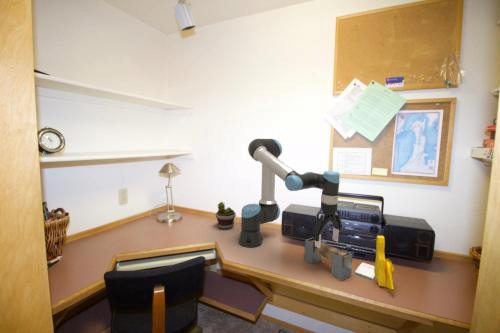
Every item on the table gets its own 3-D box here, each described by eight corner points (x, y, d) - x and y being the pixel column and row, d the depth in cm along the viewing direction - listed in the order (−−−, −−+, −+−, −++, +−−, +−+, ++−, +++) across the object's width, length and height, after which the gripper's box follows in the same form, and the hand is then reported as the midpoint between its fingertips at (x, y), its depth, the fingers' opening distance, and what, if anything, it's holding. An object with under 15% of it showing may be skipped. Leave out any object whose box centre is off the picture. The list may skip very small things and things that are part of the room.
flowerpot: (238, 224, 178) (238, 198, 176) (232, 232, 163) (232, 204, 161) (220, 222, 181) (220, 197, 179) (212, 230, 166) (212, 202, 164)
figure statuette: (398, 298, 96) (402, 246, 94) (376, 294, 99) (380, 243, 96) (387, 275, 113) (391, 231, 110) (369, 271, 115) (372, 228, 113)
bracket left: (304, 259, 127) (305, 239, 125) (313, 256, 131) (313, 237, 129) (312, 264, 122) (313, 243, 121) (321, 260, 126) (322, 240, 125)
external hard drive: (354, 274, 113) (361, 264, 123) (372, 281, 108) (379, 270, 118) (354, 271, 113) (362, 261, 123) (373, 278, 108) (379, 267, 117)
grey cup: (331, 275, 112) (332, 253, 111) (340, 270, 116) (342, 249, 115) (342, 280, 108) (343, 258, 106) (351, 276, 112) (352, 254, 110)
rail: (310, 249, 125) (310, 240, 124) (315, 248, 127) (315, 239, 127) (341, 265, 109) (342, 255, 109) (346, 263, 111) (347, 253, 111)
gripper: (318, 208, 105) (315, 253, 108) (351, 201, 119) (348, 240, 122) (306, 204, 112) (303, 246, 114) (338, 197, 125) (335, 235, 128)
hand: (326, 243), depth 118 cm, fingers open, 13 cm apart
